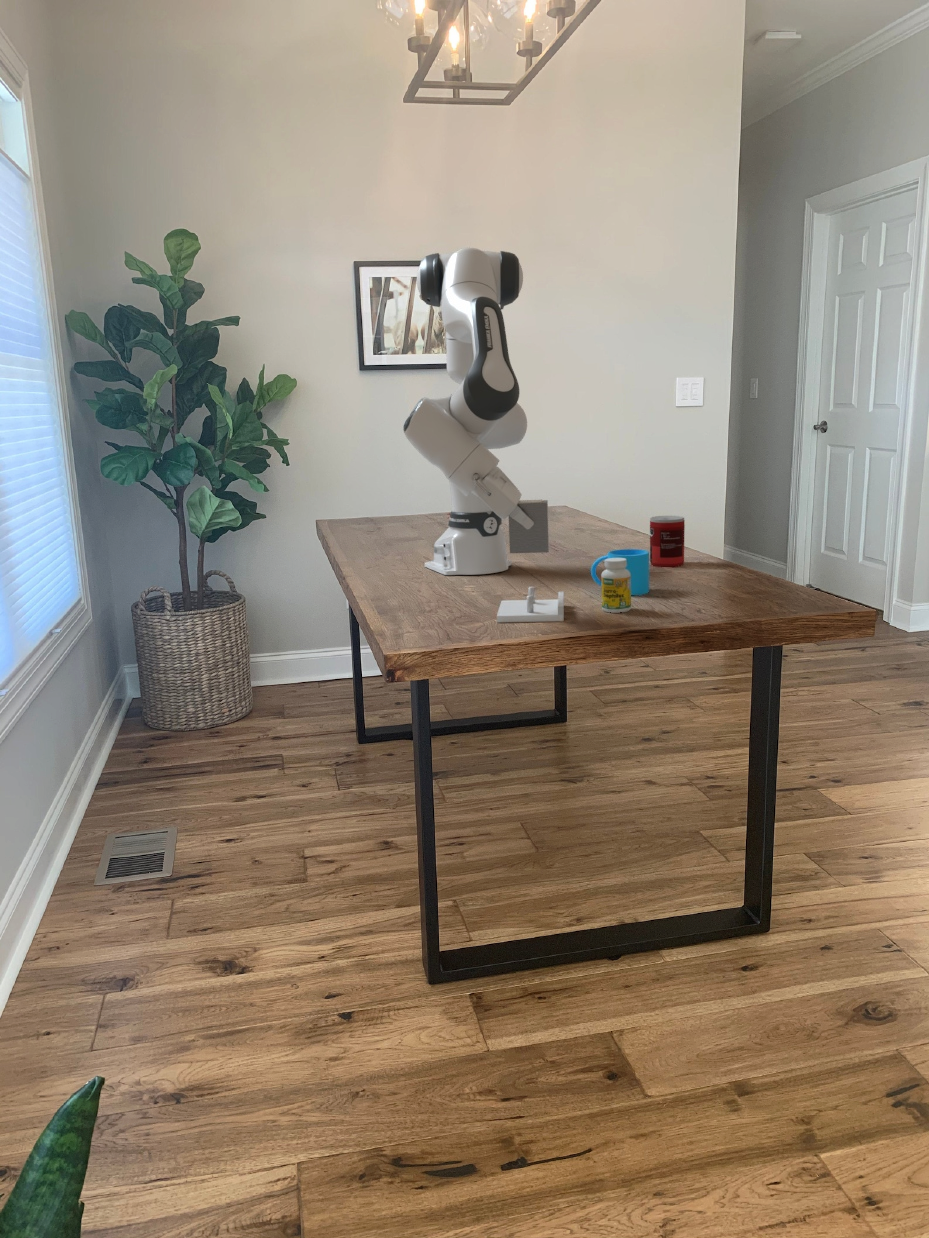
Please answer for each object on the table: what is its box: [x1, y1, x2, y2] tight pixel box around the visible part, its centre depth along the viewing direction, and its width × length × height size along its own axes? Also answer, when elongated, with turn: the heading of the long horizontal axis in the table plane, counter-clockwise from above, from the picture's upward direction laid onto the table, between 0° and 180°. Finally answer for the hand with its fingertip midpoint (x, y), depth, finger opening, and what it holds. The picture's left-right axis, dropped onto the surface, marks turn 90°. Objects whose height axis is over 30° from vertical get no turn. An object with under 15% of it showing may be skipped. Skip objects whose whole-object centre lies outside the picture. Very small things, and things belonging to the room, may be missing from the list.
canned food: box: [649, 515, 686, 568], centre depth 213 cm, size 8×8×11 cm
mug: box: [590, 548, 650, 596], centre depth 187 cm, size 12×8×8 cm
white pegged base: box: [496, 586, 565, 623], centre depth 172 cm, size 12×13×4 cm
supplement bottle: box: [600, 558, 632, 614], centre depth 171 cm, size 5×5×10 cm
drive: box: [508, 499, 550, 554], centre depth 169 cm, size 7×4×9 cm, turn 84°
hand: (532, 524), depth 168 cm, fingers closed on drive, 4 cm apart
